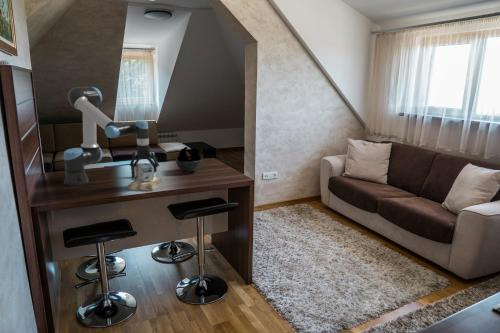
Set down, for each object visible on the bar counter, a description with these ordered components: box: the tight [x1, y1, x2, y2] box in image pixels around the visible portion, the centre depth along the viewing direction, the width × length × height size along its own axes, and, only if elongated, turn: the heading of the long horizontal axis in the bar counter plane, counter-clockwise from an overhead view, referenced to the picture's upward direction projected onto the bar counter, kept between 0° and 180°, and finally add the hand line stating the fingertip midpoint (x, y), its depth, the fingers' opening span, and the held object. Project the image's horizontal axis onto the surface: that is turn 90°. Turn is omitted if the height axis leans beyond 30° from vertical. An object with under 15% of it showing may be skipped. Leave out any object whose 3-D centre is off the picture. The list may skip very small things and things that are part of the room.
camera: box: [130, 162, 151, 179], centre depth 247 cm, size 14×11×10 cm
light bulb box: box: [136, 161, 153, 181], centre depth 226 cm, size 11×7×11 cm, turn 41°
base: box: [127, 176, 163, 192], centre depth 228 cm, size 16×18×4 cm
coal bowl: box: [175, 146, 203, 173], centre depth 264 cm, size 20×20×19 cm
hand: (145, 176), depth 227 cm, fingers closed on light bulb box, 12 cm apart
